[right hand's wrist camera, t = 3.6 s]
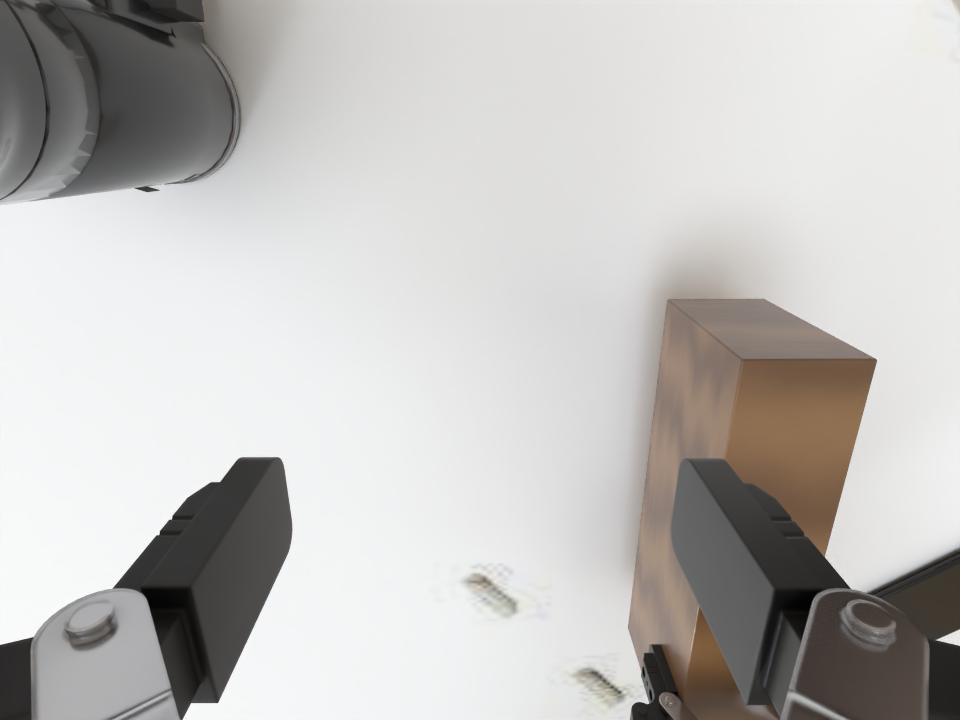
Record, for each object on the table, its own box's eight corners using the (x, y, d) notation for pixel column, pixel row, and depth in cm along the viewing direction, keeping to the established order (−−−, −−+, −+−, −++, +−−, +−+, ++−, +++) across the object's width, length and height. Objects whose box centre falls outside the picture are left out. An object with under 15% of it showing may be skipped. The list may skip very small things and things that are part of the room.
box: (666, 298, 35) (742, 359, 25) (764, 298, 35) (878, 359, 25) (627, 627, 45) (670, 767, 35) (704, 627, 45) (769, 767, 35)
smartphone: (854, 667, 54) (1025, 590, 50) (860, 675, 53) (1034, 598, 49) (820, 616, 51) (996, 531, 48) (825, 624, 50) (1005, 538, 47)
